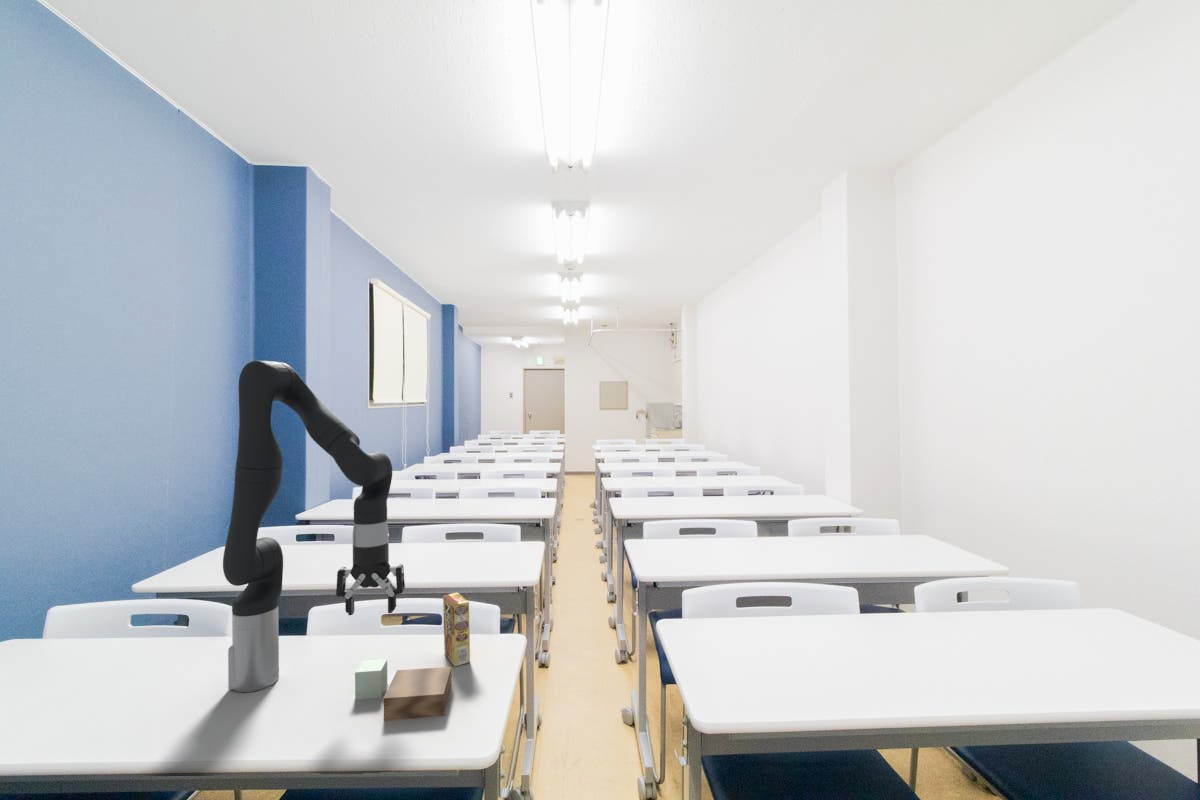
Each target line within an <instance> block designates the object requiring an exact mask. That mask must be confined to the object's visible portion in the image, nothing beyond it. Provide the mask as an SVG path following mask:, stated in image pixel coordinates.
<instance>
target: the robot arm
mask: <svg viewBox="0 0 1200 800" xmlns="http://www.w3.org/2000/svg"><path fill="white" fill-rule="evenodd" d="M278 401H279V402H281V403H283V404H284V405H285V406H287V407H289V408H290V409H291V410H292V411H294V412H295V413H296V414H297V415H298V416H299V418H300V419H301V421H302V423H303V425H304V427H305V430H306V432H307V433H308V435H309V437H310V438H311V439H312V441H314V442H315V443H316V444H317V445H318V446H319V448H321V449H322V450H324V452H326V454H328V455H330V456H331V457H332V458H333V460H334V461H335V463H336V465H337V467H338V468H339V470H340V471H341V472H342V474H343V475H344V476H345V477H346V479H348V480H349V481H350V482H351V483H353V484H354V485H357V486H358V487H360V486H361V487H362V488H361V492H360V494H359V495H358V496H357V497H356V498H355V499H354V502H353V528H352V568H350V567H349V568H347V567H346V566H342V567H340V569H338V570H337V573H336V588H335V590H336V594H335V595H336V597H342V598H343V599H344V600H345V608H344V609H345V612H346V614H347V613H348V614H347V615H348V616H352V615H354V614H355V595H354V594H355V592H356V591H357V590H358V588H360V587H362V588H365V589H367V588H369V587H370V588H378V587H380V588H381V589H382V590H383V591H385V592H386V594H387V595H388V597H387V613H388V614H392V613H393V612H394V611H395V609H396V607H397V595H399V594H402V593H403V592H404V590H405V588H406V581H405V572H404V570H405V569H404V565H403V564H401V563H399V564H398V565H394V566H391V565H390V563H389V561H390V560H389V559H390V557H389V554H390V553H389V551H390V550H389V549H390V548H389V540H390V534H389V525H388V498H389V494H390V489H391V484H392V479H393V465H392V462H391V459H390V458H389V457H388V455H387V454H385V453H383V452H380V451H373V452H368V453H367V452H365V451H364V450H363V449H362V448H361V446H360V444H361V440H360V437H359V436H358V435H357V434H356V433H355V432H354V431H353V430H351V429H350V428H349V427H348V426H347V425H346V424H345V423H344V422H342V421H341V420H340V419H339V418H338V417H337V416H336V415H334V414H333V413H332V411H330V410H329V409H328V407H326V406H325V404H324V403H322V401H321V400H320V399H319V398H318V396H317V395H316V394H315V393H314V392H313V391H312V389H311V388H310V387H309V386H308V385H307V384H306V382H305V381H304V379H303V378H302V377H301V376H300V374H299V373H298V372H297V371H296V370H295V369H294V368H293V367H292V366H290V365H289V364H287V363H285V362H281V361H273V360H259V359H258V360H251V361H249V362H247V363H246V364H245V365H244V366H243V368H242V369H241V371H240V374H239V378H238V412H239V415H238V417H239V421H238V422H239V423H238V424H239V425H238V441H237V455H236V461H235V472H234V487H233V497H232V498H233V499H232V507H231V515H230V520H229V521H230V522H229V527H228V532H227V537H226V541H225V546H224V547H225V548H224V552H223V557H222V570H223V575H224V577H225V579H226V580H227V582H228V583H229V584H231V585H233V586H236V587H238V586H239V587H241V586H245V585H247V586H245V588H244V589H243V591H242V592H240V593H239V594H238V595H237V596H236V597H235V598H234V599H233V601H232V605H231V616H232V617H231V621H232V622H231V624H232V625H231V626H232V631H231V633H232V635H231V636H232V637H231V638H232V641H231V642H232V645H230V646H229V648H228V649H227V651H228V652H227V663H228V664H227V670H228V672H227V674H228V678H227V679H228V681H227V682H228V683H227V684H228V691H234V692H238V693H250V692H251V693H252V692H255V691H260V690H263V689H266V688H268V687H270V686H272V685H273V684H275V683H276V682H278V680H279V677H280V652H279V651H280V649H279V648H280V646H279V644H280V643H279V641H280V639H279V637H280V635H279V633H280V632H279V598H280V596H281V594H282V592H283V591H282V589H283V575H284V574H283V573H284V555H283V550H282V547H281V545H280V543H279V542H278V541H277V540H276V539H274V537H273V538H272V537H267V536H266V537H261V538H258V532H259V529H260V525H261V523H262V521H263V518H264V516H265V514H266V512H267V511H268V510H269V508H270V507H271V505H272V503H273V501H274V499H276V497H277V494H278V492H279V491H280V487H281V484H282V475H283V474H282V473H283V461H284V460H283V458H284V457H283V453H282V450H281V447H280V444H279V443H278V441H277V438H276V436H275V433H274V431H273V426H272V410H273V409H272V408H273V403H274V402H278ZM390 573H392V575H393V576H394V577H395V579H396V580H395V581H396V587H395V586H394V584H393V582H392V580H391V579H389V577H388V575H390ZM350 575H351V577H352V578H353V579H354V580H355V581H354V582H353V584H352V586H351V587H350V588H349V589H346V588H347V586H346V585H347V582H346V581H347V578H348V577H349V576H350Z"/></svg>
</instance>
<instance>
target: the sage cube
mask: <svg viewBox="0 0 1200 800" xmlns="http://www.w3.org/2000/svg"><path fill="white" fill-rule="evenodd" d="M386 686H388V659H386V658H384V659H370V660H369V659H368V660H362V661H361V662H360V664H359V665H358V667H357V668H356V670H355V672H354V689H355V690H354V696H355V697H354V699H355V700H361V699H362V700H363V699H376V698H382V696H383V695H384V692H385V691H384V690H386V689H387V687H386ZM385 688H386V689H385Z"/></svg>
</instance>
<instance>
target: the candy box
mask: <svg viewBox="0 0 1200 800" xmlns="http://www.w3.org/2000/svg"><path fill="white" fill-rule="evenodd" d="M442 597H443V598H442V599H443V600H442V601H443V603H442V604H443V639H444V641H443V645H444V655H445V656H446V657H447V658H448V660H449V661H450V662H451V663H452V665H454V667H458V666H462V665H465V664H470V663H471V645H470V644H471V642H470V641H471V639H470V601H468V599H466V598H464V596H463V595H461V594H460V593H459V592H453V593H448V594H444V595H443V596H442Z"/></svg>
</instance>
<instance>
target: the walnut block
mask: <svg viewBox="0 0 1200 800" xmlns="http://www.w3.org/2000/svg"><path fill="white" fill-rule="evenodd" d="M452 684H453V683H452V666H444V667H430V668H429V667H428V668H413V669H411V668H409V669H398V670H397V669H396V672H395V674H394V676H393V678H392V679H391V682H390V684H389V686H388V688H387V689H386V690H387V691H386V692H385V695H384V696H383V721H384V722H387V721H399V720H400V721H401V720H402V721H403V720H414V719H415V720H416V719H424V718H425V719H426V718H438V717H444V716H445V713H446V708H447V705H448V703H449V697H450V694H451V691H452Z"/></svg>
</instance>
